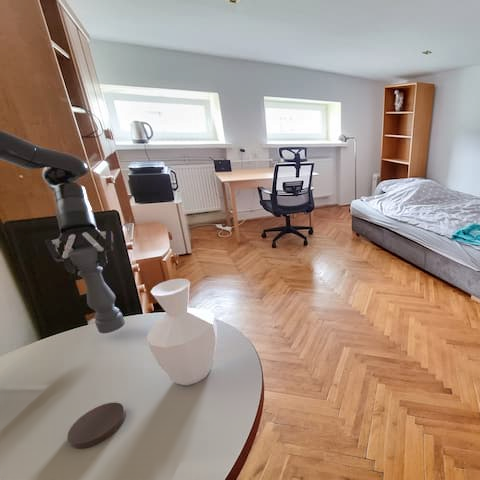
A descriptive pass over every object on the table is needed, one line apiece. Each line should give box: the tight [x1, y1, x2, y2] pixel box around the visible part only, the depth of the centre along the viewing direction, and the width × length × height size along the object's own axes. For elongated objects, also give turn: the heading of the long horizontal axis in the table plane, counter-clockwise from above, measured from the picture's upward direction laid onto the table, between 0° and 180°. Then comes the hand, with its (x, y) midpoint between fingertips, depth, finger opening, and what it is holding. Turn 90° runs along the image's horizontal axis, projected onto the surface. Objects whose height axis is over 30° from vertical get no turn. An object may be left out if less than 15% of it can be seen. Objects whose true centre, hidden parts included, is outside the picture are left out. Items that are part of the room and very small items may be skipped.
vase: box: [145, 278, 218, 386], centre depth 69 cm, size 14×14×25 cm
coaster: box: [67, 401, 127, 450], centre depth 60 cm, size 9×9×2 cm
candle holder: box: [68, 246, 126, 334], centre depth 81 cm, size 6×6×25 cm
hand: (88, 268), depth 77 cm, fingers closed on candle holder, 5 cm apart
